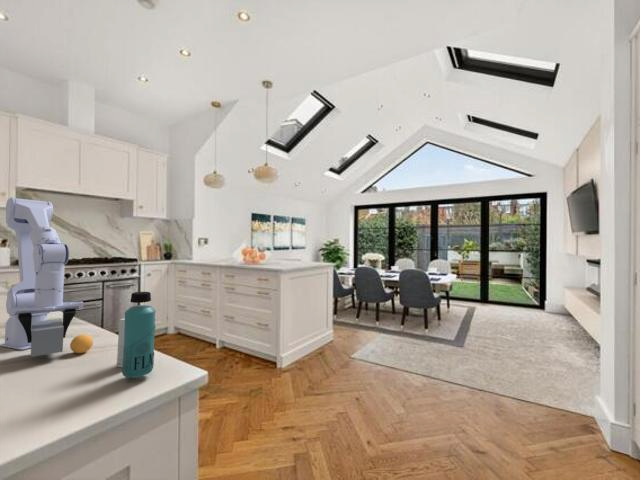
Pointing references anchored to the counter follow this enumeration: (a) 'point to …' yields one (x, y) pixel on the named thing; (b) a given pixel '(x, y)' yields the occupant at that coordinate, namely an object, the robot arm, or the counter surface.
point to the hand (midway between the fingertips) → (46, 339)
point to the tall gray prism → (47, 337)
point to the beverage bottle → (139, 337)
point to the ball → (81, 343)
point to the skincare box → (120, 343)
